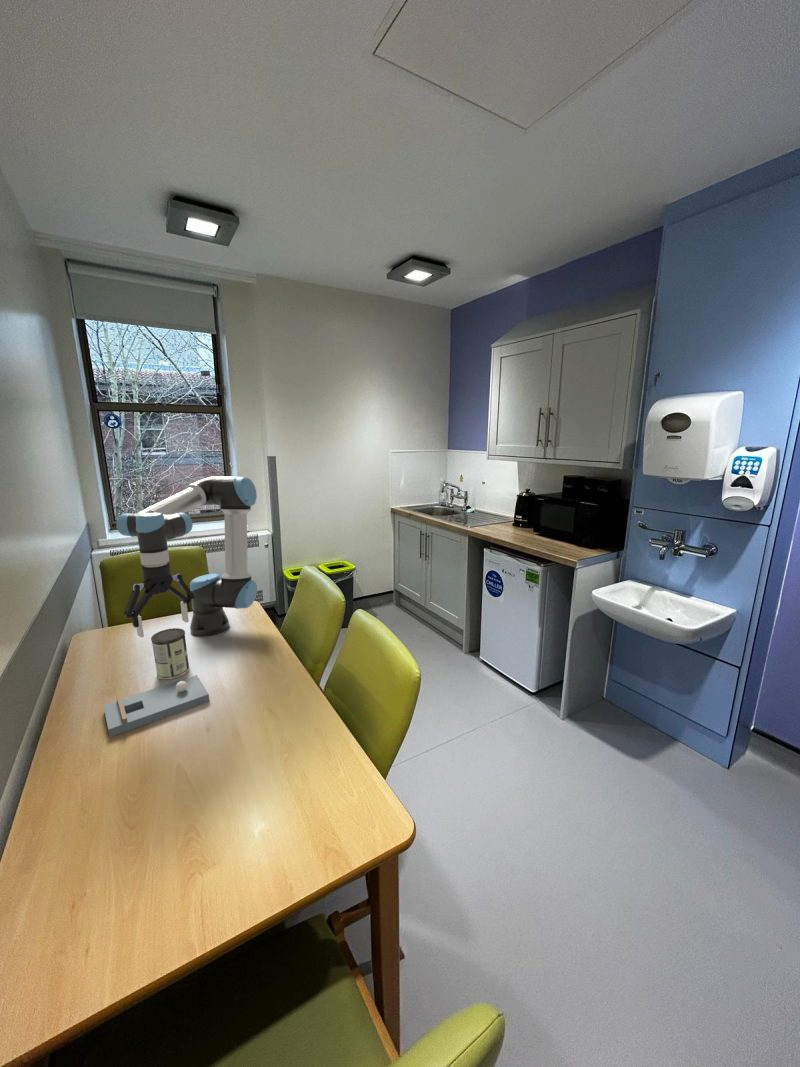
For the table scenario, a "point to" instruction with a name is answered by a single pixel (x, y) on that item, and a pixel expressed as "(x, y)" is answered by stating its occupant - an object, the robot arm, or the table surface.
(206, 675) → the table surface
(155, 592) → the robot arm
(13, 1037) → the table surface
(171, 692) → the deck
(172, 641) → the coffee can
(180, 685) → the ball
